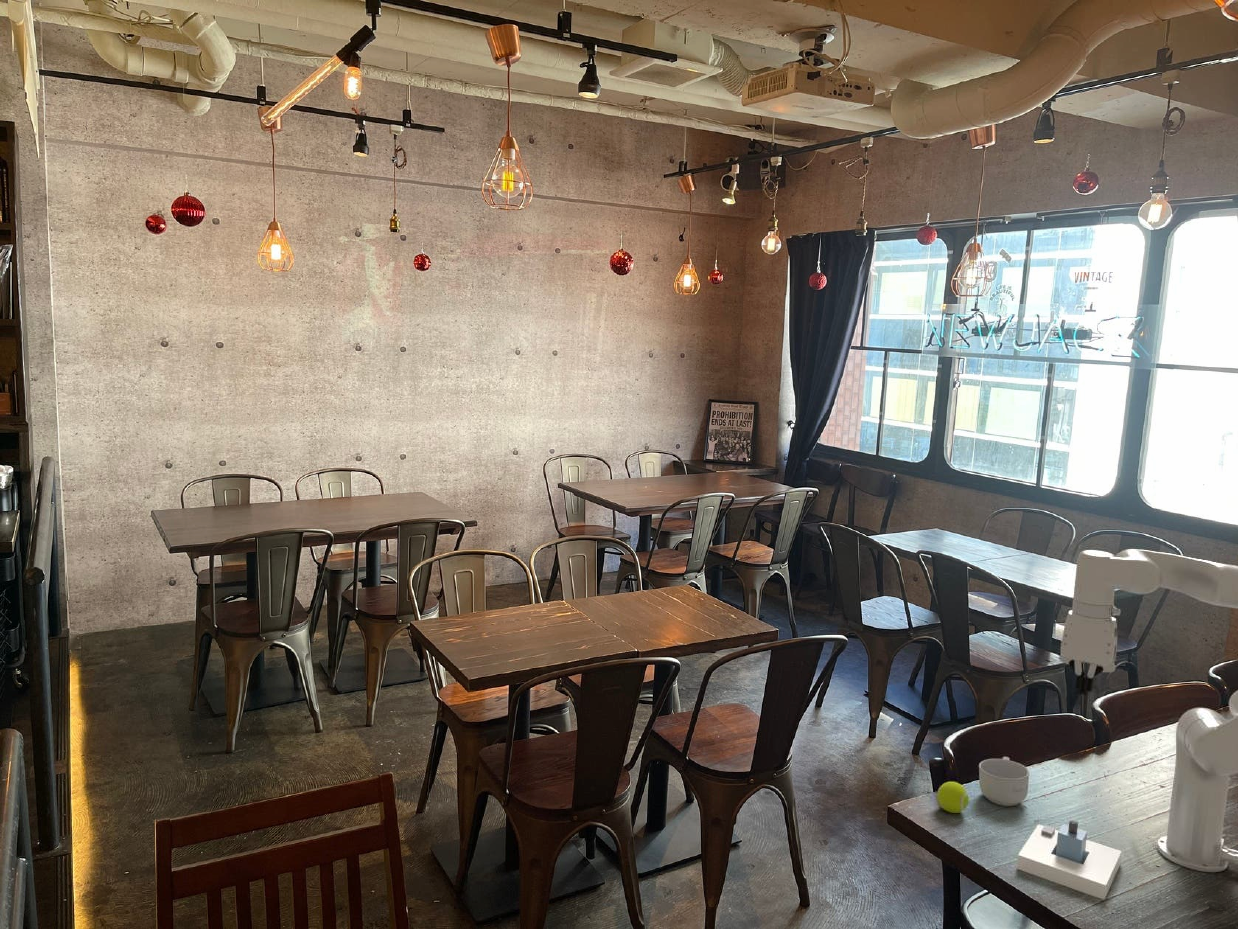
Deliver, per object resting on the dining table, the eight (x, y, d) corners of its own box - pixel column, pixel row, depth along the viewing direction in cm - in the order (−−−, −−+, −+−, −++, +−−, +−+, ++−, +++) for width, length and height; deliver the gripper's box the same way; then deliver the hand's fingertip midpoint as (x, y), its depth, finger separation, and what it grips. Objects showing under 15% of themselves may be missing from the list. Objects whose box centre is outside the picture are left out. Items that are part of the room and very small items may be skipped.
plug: (1083, 864, 187) (1088, 822, 186) (1078, 873, 184) (1083, 831, 183) (1060, 856, 190) (1064, 815, 189) (1054, 865, 187) (1058, 823, 185)
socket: (1120, 865, 188) (1122, 847, 188) (1104, 900, 176) (1106, 881, 175) (1037, 837, 198) (1038, 820, 198) (1016, 868, 186) (1018, 851, 185)
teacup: (1019, 816, 207) (1022, 782, 206) (970, 801, 214) (973, 768, 213) (1034, 794, 218) (1037, 762, 217) (987, 779, 225) (990, 748, 224)
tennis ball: (942, 801, 213) (944, 773, 212) (971, 811, 209) (974, 783, 208) (931, 811, 208) (933, 783, 207) (961, 822, 204) (963, 793, 203)
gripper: (1135, 613, 192) (1126, 697, 194) (1058, 599, 201) (1050, 679, 203) (1128, 620, 186) (1119, 707, 188) (1049, 606, 195) (1041, 689, 197)
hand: (1083, 693), depth 196 cm, fingers closed
